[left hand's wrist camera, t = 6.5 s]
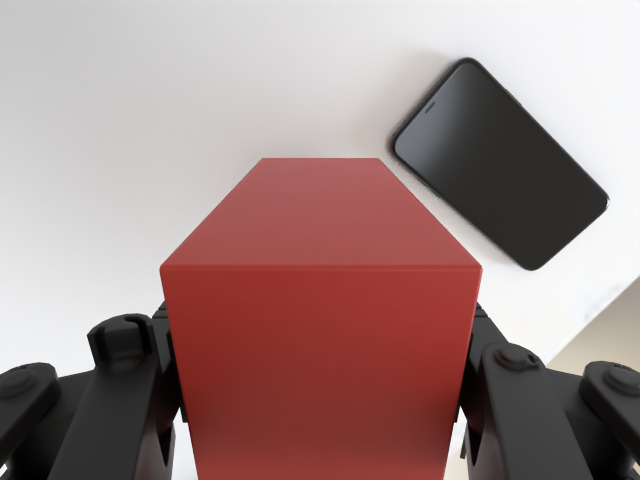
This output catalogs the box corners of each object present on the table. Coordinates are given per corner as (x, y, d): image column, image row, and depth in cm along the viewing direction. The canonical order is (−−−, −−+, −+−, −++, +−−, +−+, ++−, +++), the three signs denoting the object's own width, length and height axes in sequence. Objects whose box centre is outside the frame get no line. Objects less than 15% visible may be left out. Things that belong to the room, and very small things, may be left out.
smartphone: (609, 199, 27) (463, 49, 23) (618, 202, 26) (468, 48, 22) (526, 272, 29) (380, 147, 25) (532, 277, 28) (383, 149, 25)
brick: (370, 297, 19) (433, 543, 9) (269, 297, 19) (208, 543, 9) (379, 158, 17) (485, 267, 6) (261, 158, 17) (155, 266, 6)
